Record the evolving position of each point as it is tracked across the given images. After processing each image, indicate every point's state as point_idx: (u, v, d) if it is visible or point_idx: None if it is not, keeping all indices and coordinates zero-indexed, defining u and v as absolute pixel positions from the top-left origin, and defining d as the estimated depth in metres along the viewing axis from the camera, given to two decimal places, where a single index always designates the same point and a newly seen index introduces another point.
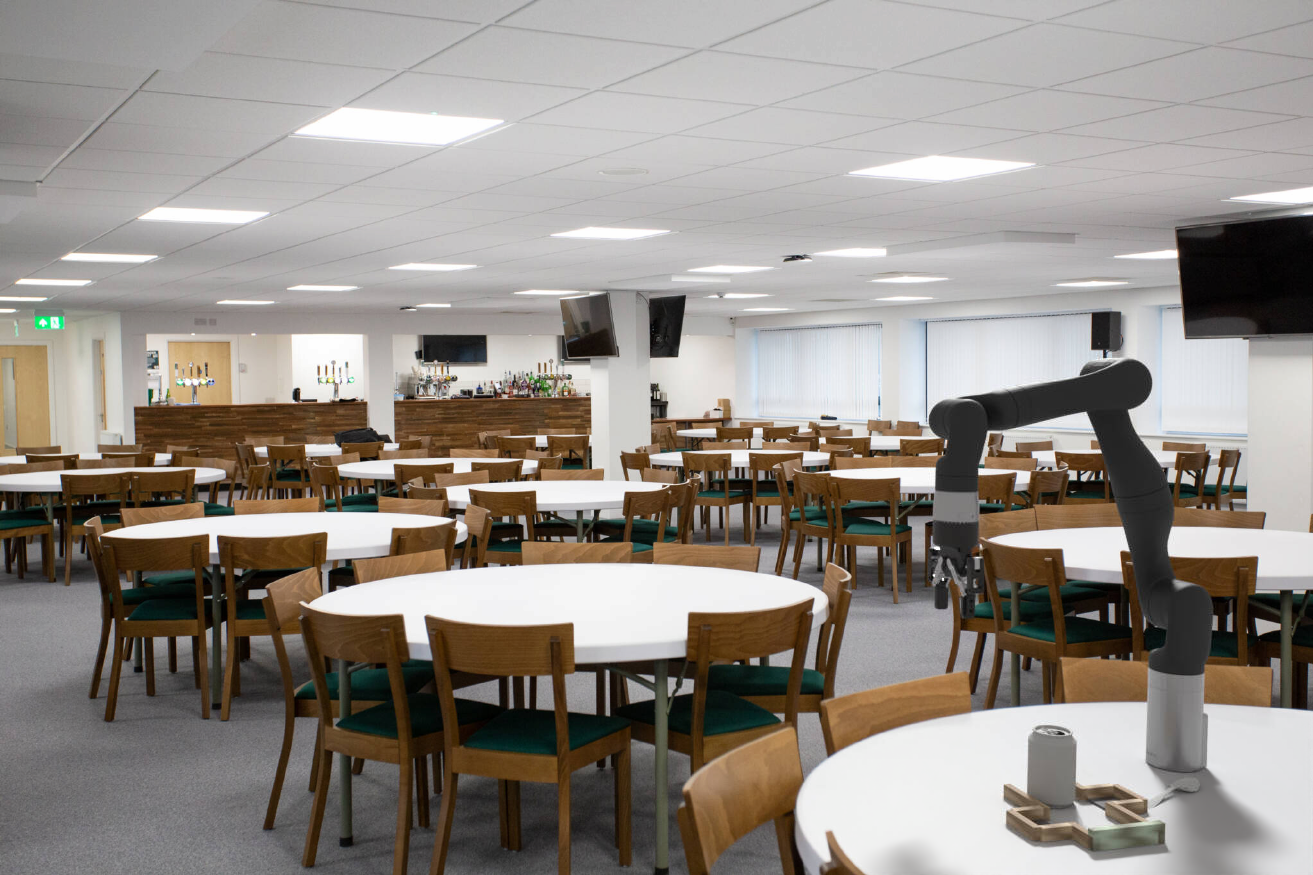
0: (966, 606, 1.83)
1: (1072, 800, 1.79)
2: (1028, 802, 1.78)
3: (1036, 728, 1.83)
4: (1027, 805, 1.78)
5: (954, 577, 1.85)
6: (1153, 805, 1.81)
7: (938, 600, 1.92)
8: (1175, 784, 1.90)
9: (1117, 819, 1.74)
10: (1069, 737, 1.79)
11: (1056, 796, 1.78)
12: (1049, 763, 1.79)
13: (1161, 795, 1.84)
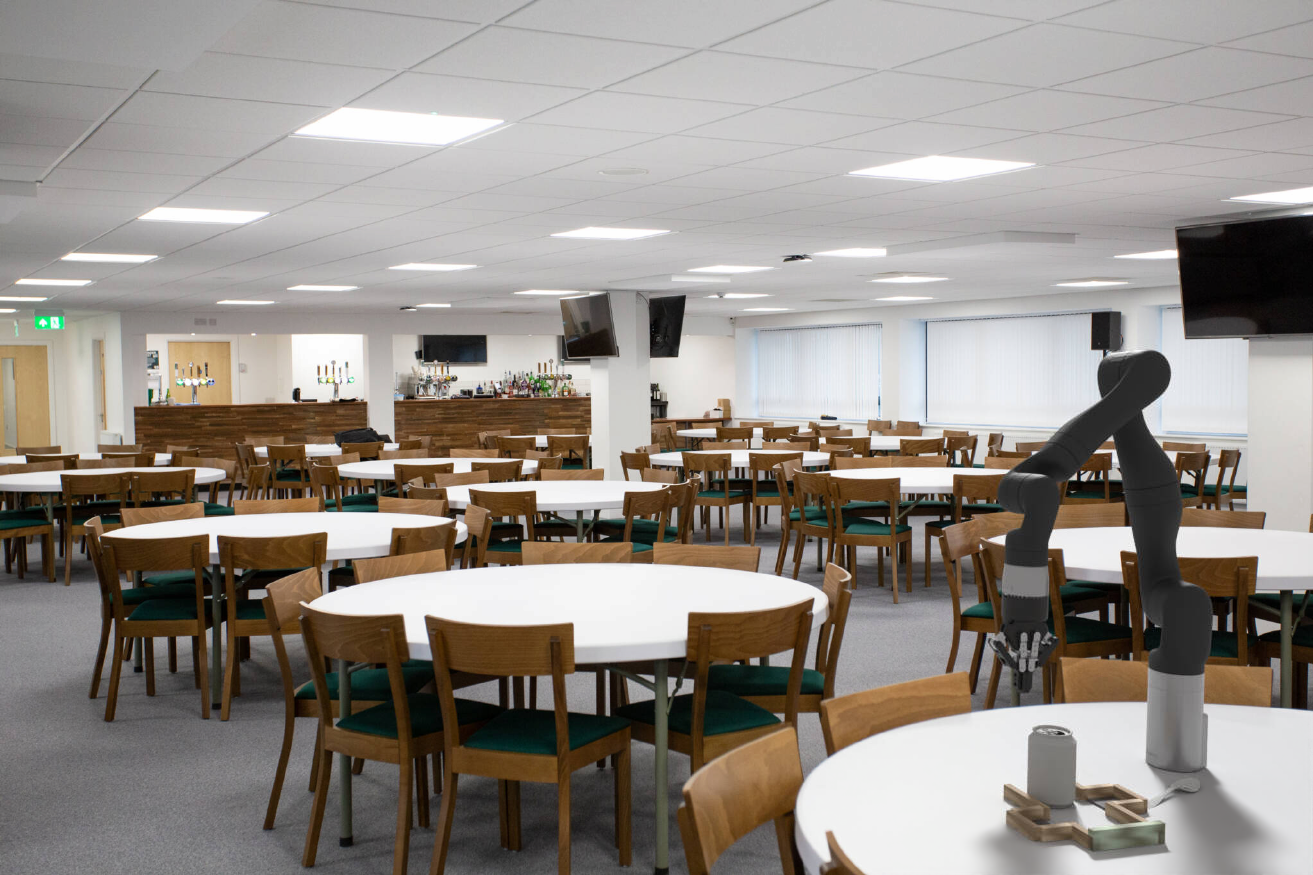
0: (1030, 680, 1.89)
1: (1072, 800, 1.79)
2: (1028, 802, 1.78)
3: (1036, 728, 1.83)
4: (1027, 805, 1.78)
5: (1033, 651, 1.88)
6: (1153, 805, 1.81)
7: None
8: (1175, 784, 1.90)
9: (1117, 819, 1.74)
10: (1069, 737, 1.79)
11: (1056, 796, 1.78)
12: (1048, 763, 1.79)
13: (1161, 795, 1.84)
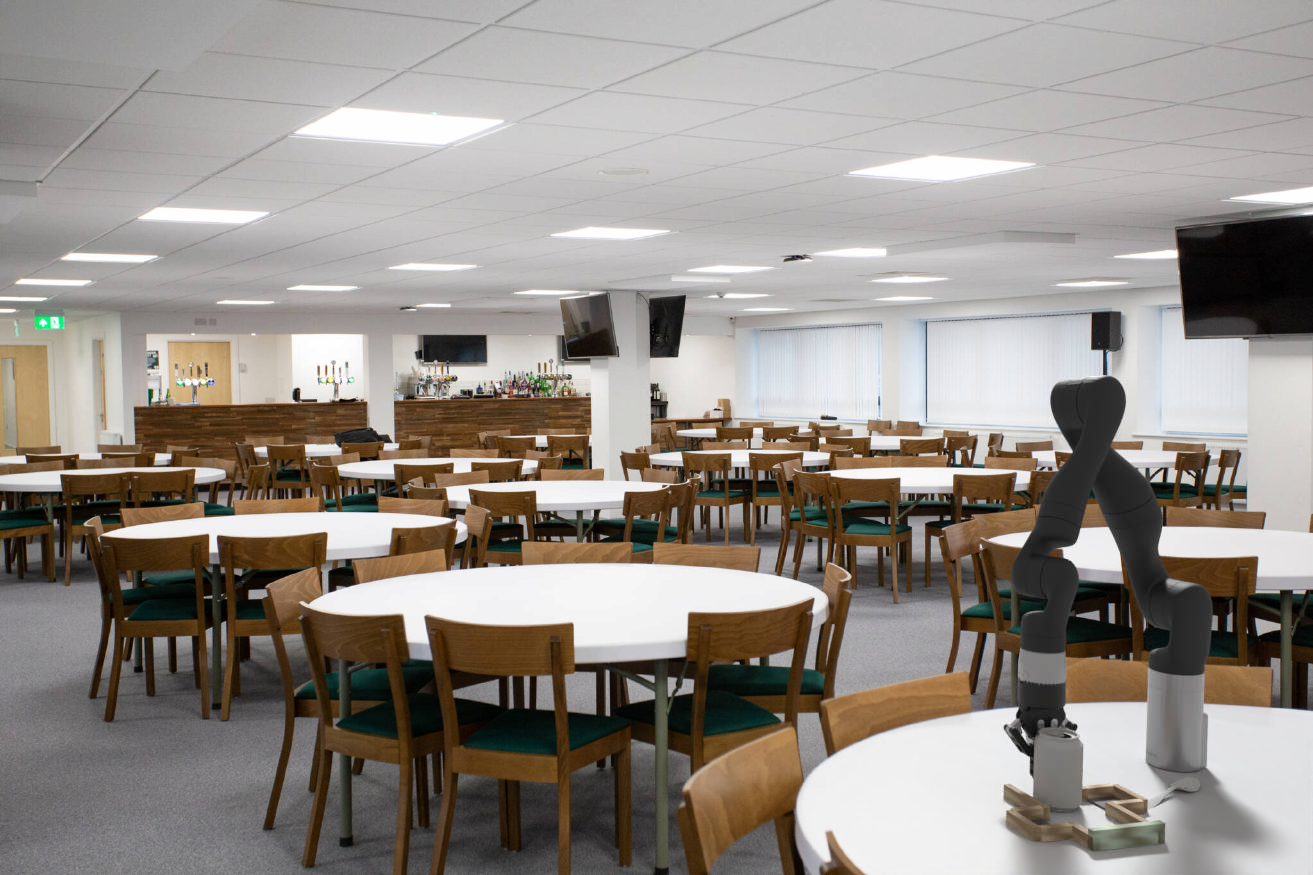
0: None
1: (1079, 803, 1.78)
2: (1028, 802, 1.78)
3: (1042, 731, 1.82)
4: (1027, 805, 1.78)
5: None
6: (1153, 805, 1.81)
7: None
8: (1175, 784, 1.90)
9: (1117, 819, 1.74)
10: (1076, 740, 1.78)
11: (1063, 800, 1.77)
12: (1055, 766, 1.77)
13: (1161, 795, 1.84)
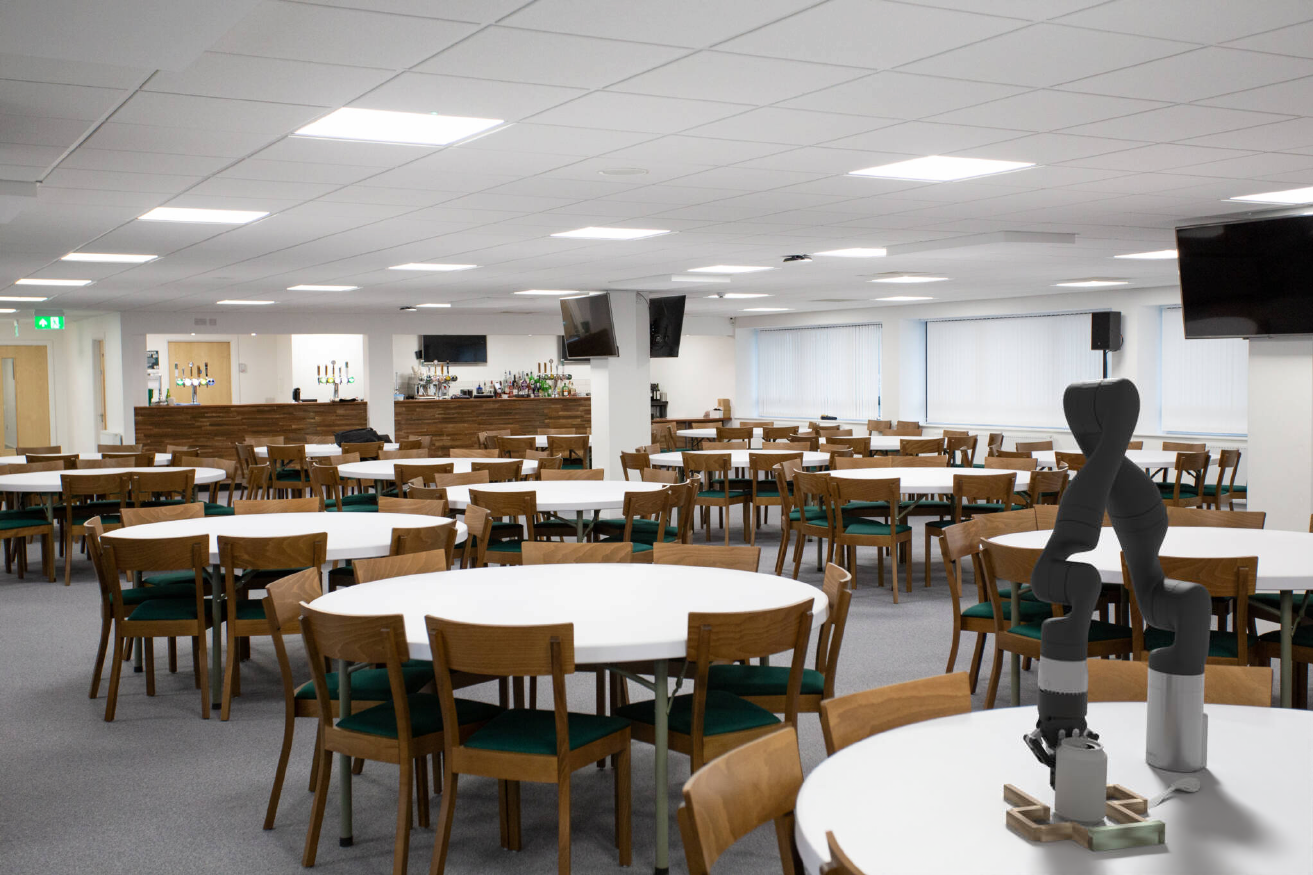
0: None
1: (1103, 816, 1.72)
2: (1028, 802, 1.78)
3: (1064, 741, 1.76)
4: (1027, 805, 1.78)
5: None
6: (1153, 805, 1.81)
7: None
8: (1175, 784, 1.90)
9: (1117, 819, 1.74)
10: (1100, 751, 1.73)
11: (1087, 813, 1.71)
12: (1079, 778, 1.71)
13: (1161, 795, 1.84)
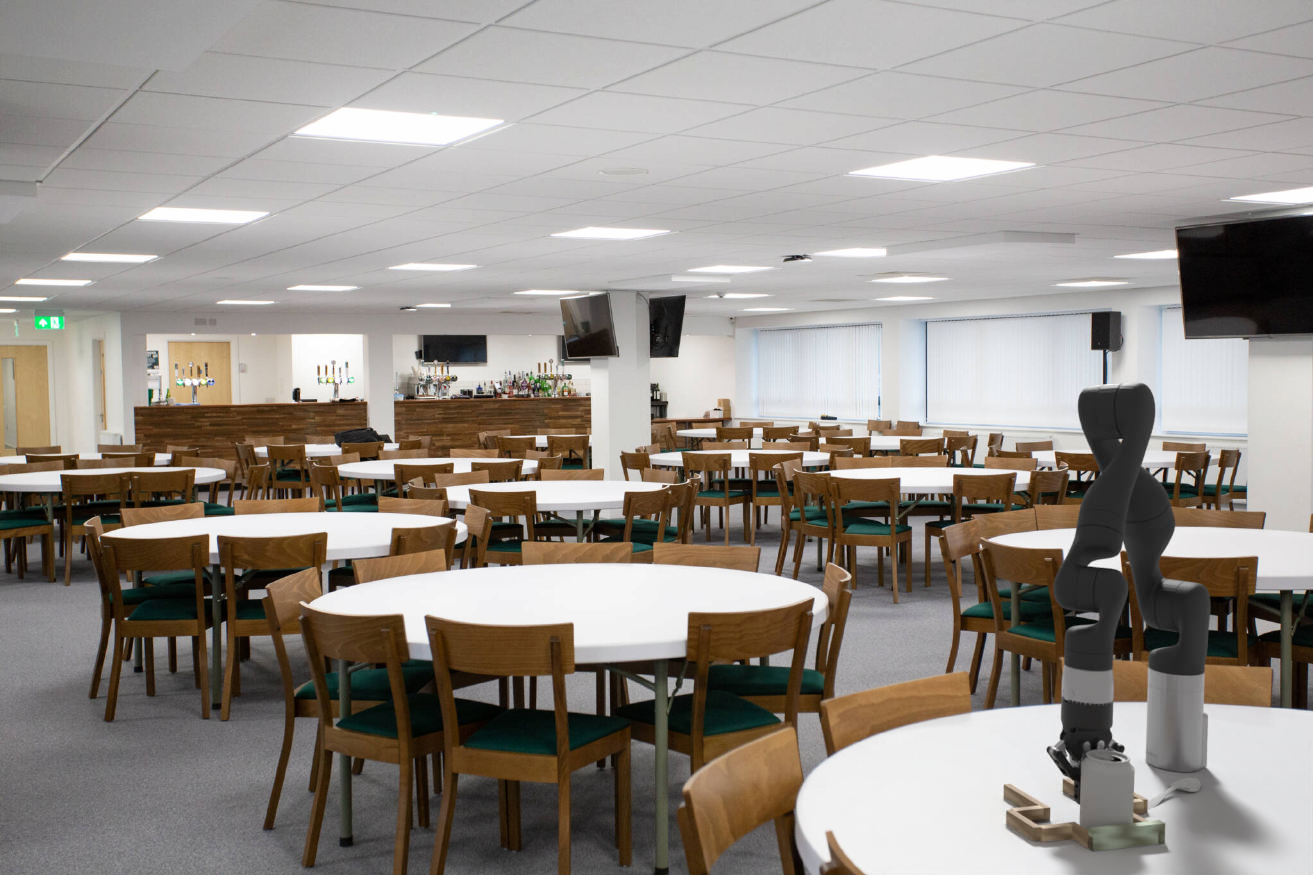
0: None
1: None
2: (1028, 802, 1.78)
3: (1089, 753, 1.70)
4: (1027, 805, 1.78)
5: None
6: (1153, 805, 1.81)
7: None
8: (1176, 784, 1.90)
9: None
10: (1127, 763, 1.67)
11: None
12: (1106, 792, 1.66)
13: (1161, 795, 1.84)
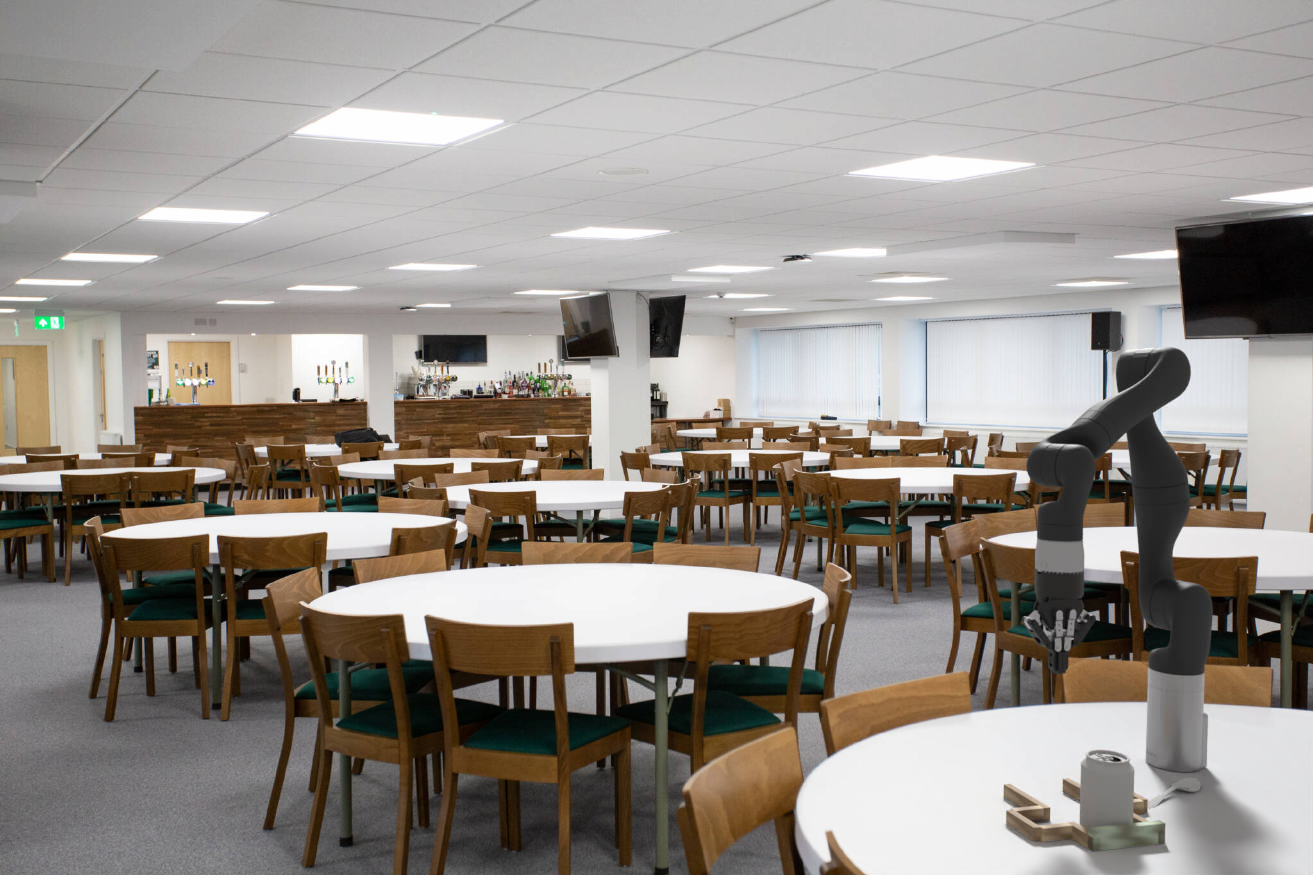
0: (1067, 660, 1.81)
1: None
2: (1028, 802, 1.78)
3: (1089, 754, 1.70)
4: (1027, 805, 1.78)
5: (1069, 630, 1.80)
6: (1153, 805, 1.81)
7: None
8: (1176, 784, 1.90)
9: None
10: (1127, 763, 1.67)
11: None
12: (1106, 792, 1.66)
13: (1162, 795, 1.84)
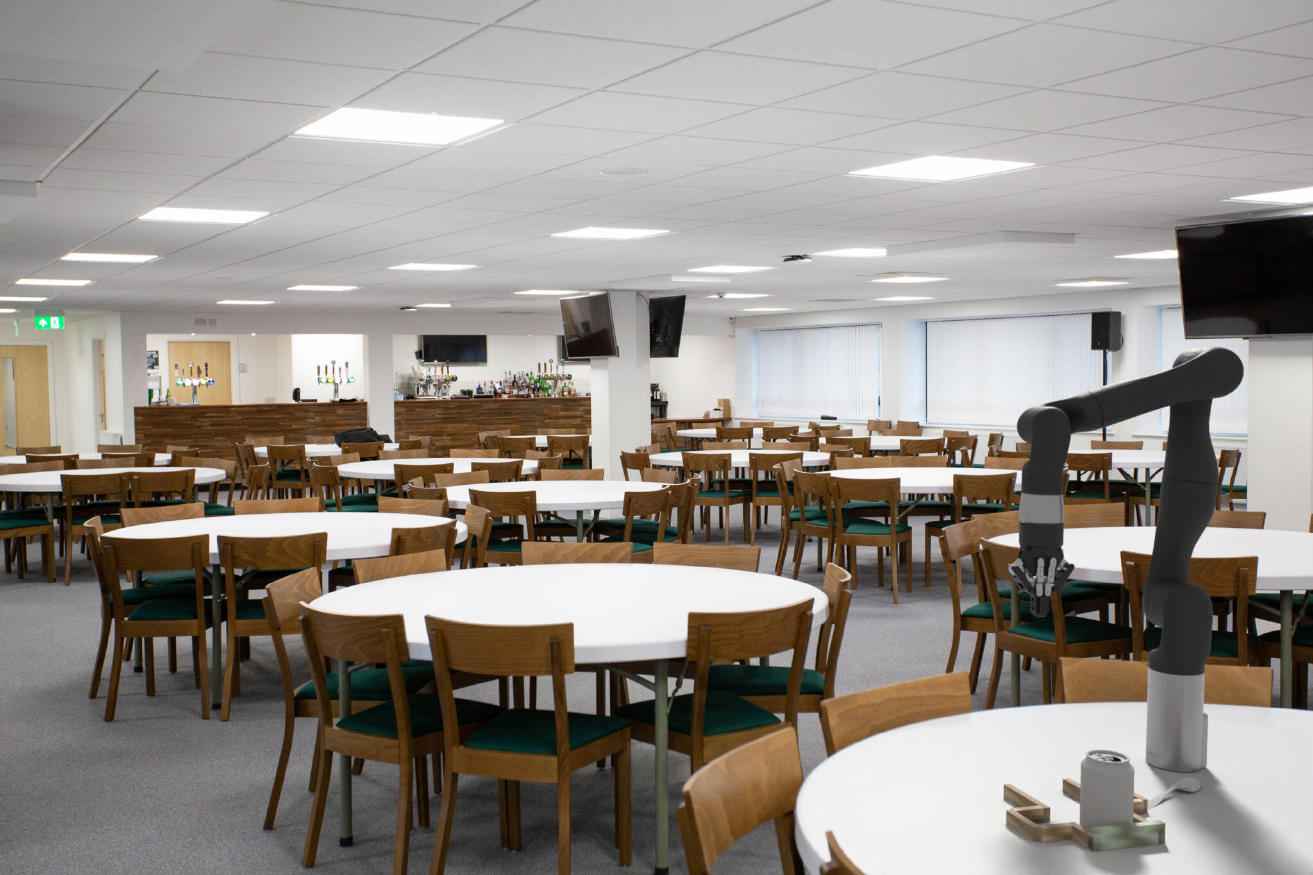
0: (1047, 604, 1.98)
1: None
2: (1028, 802, 1.78)
3: (1089, 754, 1.70)
4: (1027, 805, 1.78)
5: (1050, 576, 1.97)
6: (1153, 805, 1.81)
7: None
8: (1176, 784, 1.90)
9: None
10: (1127, 763, 1.67)
11: None
12: (1106, 792, 1.66)
13: (1161, 795, 1.84)
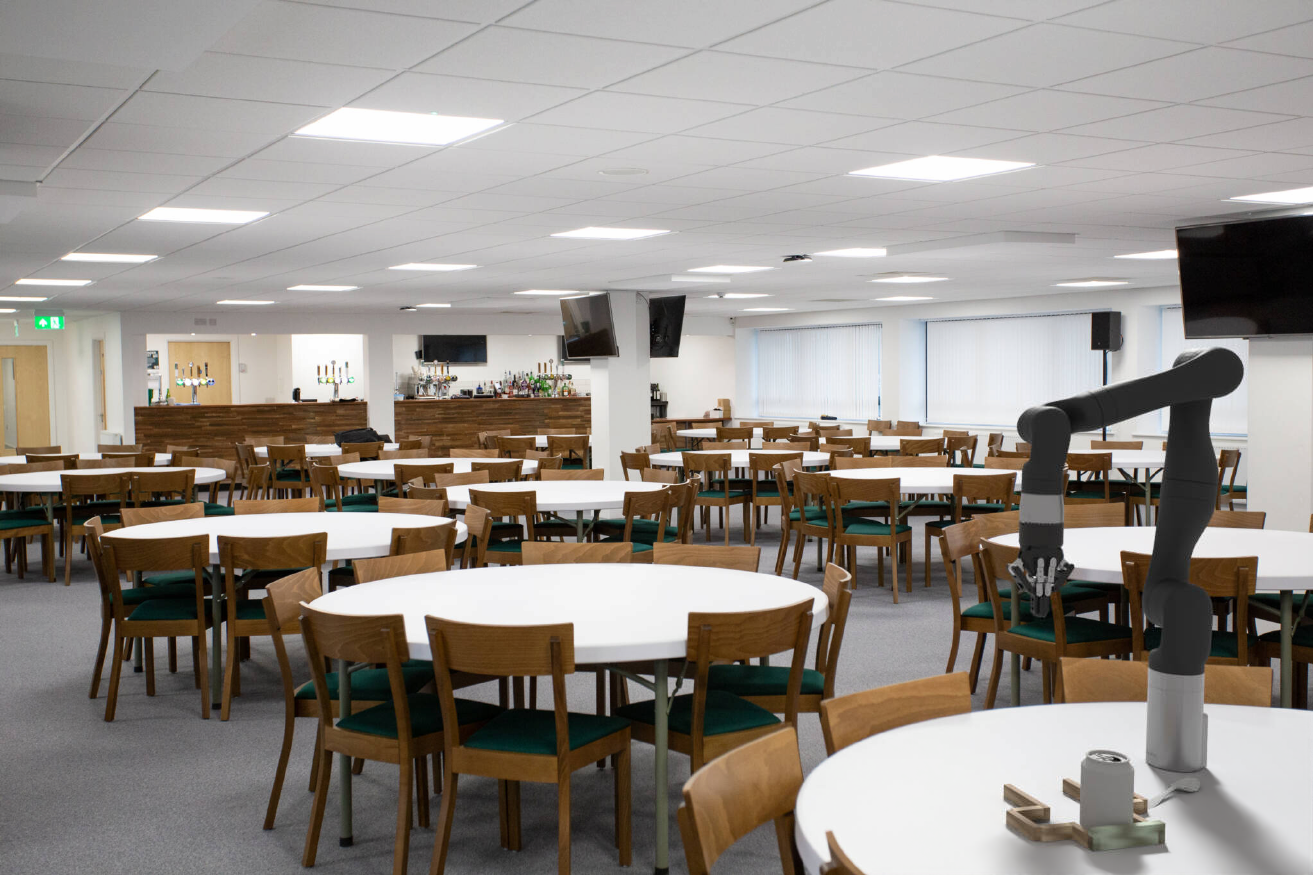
0: (1047, 604, 1.98)
1: None
2: (1028, 802, 1.78)
3: (1089, 754, 1.70)
4: (1027, 805, 1.78)
5: (1050, 576, 1.97)
6: (1153, 805, 1.81)
7: None
8: (1175, 784, 1.90)
9: None
10: (1127, 763, 1.67)
11: None
12: (1106, 792, 1.66)
13: (1161, 795, 1.84)
